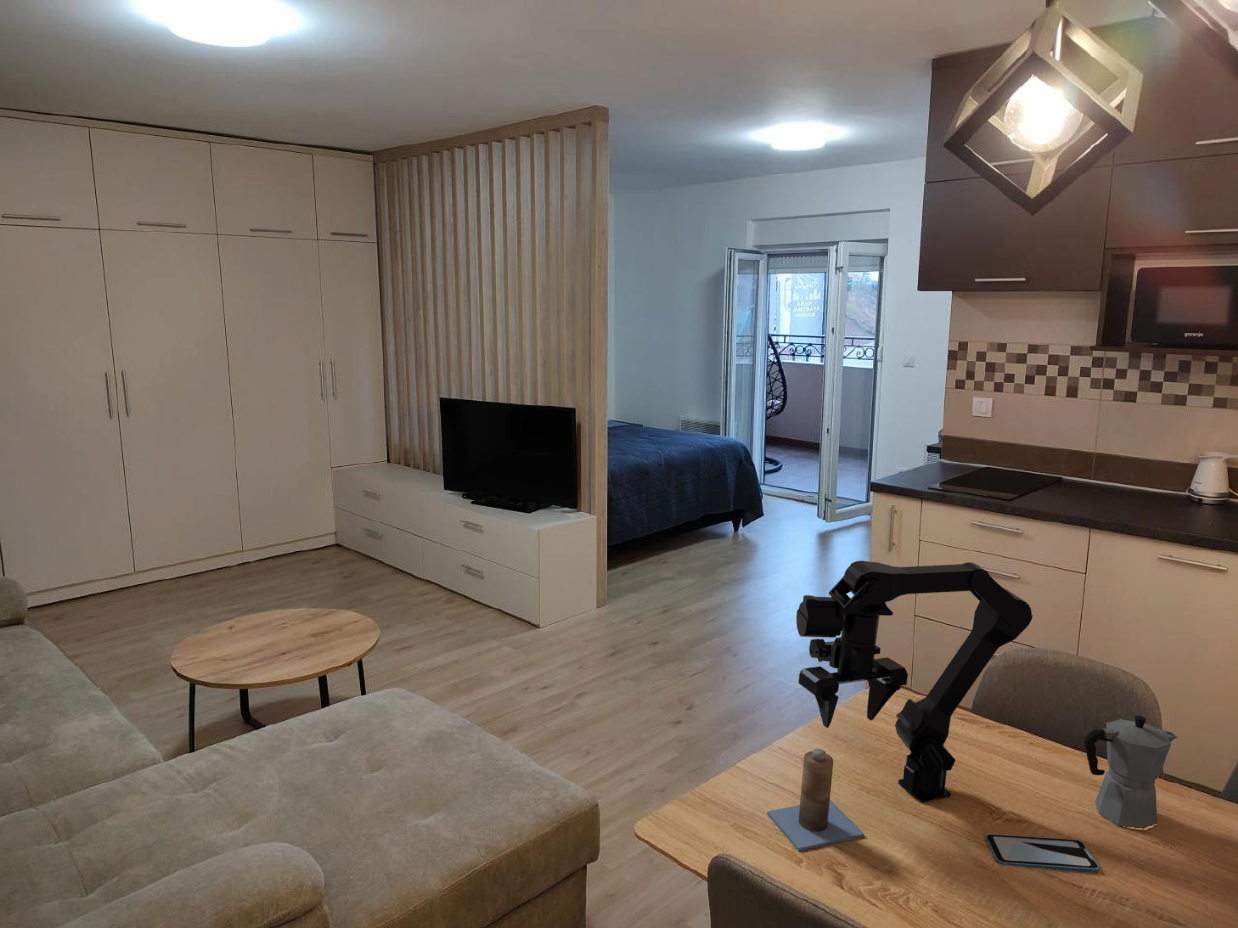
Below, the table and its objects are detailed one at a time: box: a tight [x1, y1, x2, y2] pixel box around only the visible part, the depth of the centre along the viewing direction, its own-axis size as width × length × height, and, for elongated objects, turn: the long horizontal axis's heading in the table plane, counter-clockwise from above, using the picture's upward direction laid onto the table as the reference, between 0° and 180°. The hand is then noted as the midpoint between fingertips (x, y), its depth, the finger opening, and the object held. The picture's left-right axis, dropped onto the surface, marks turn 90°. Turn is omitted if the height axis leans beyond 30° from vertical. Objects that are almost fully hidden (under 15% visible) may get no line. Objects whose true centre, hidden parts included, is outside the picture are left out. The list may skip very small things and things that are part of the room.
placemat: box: [766, 799, 865, 852], centre depth 139 cm, size 12×10×1 cm
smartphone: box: [984, 833, 1100, 874], centre depth 133 cm, size 7×1×15 cm
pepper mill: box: [799, 748, 834, 832], centre depth 137 cm, size 5×5×13 cm
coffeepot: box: [1083, 715, 1178, 829], centre depth 141 cm, size 15×9×18 cm, turn 92°
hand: (848, 722), depth 145 cm, fingers open, 9 cm apart
